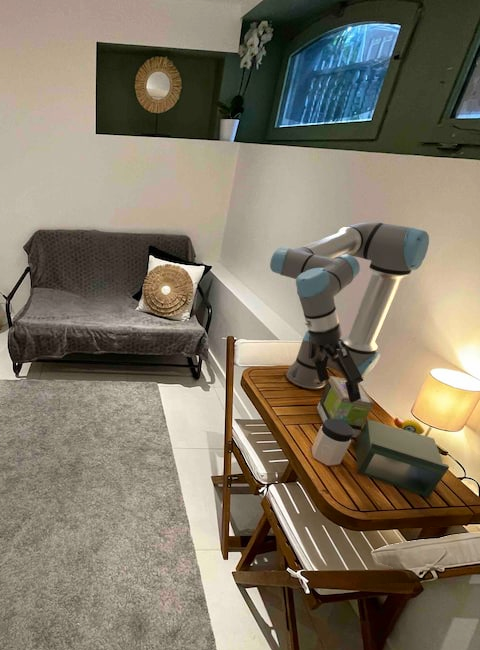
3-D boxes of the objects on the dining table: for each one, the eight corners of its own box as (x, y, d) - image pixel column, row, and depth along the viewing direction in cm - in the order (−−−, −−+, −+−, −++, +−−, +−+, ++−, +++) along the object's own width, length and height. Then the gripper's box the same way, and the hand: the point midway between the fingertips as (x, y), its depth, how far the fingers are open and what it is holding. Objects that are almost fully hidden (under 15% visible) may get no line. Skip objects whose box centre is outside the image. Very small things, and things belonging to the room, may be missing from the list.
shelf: (355, 442, 125) (369, 414, 120) (418, 463, 119) (436, 434, 113) (357, 473, 113) (373, 443, 107) (428, 497, 106) (449, 467, 101)
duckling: (382, 441, 127) (395, 418, 122) (385, 434, 131) (398, 411, 126) (422, 459, 121) (437, 435, 116) (424, 451, 124) (439, 427, 119)
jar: (305, 454, 119) (318, 424, 113) (316, 443, 124) (329, 414, 118) (334, 470, 113) (349, 440, 107) (344, 458, 118) (359, 429, 112)
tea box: (357, 438, 128) (375, 403, 120) (326, 433, 129) (342, 397, 122) (343, 413, 140) (359, 379, 133) (315, 408, 142) (329, 374, 134)
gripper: (285, 320, 112) (302, 378, 120) (341, 347, 89) (357, 416, 97) (308, 309, 112) (324, 367, 120) (370, 333, 89) (384, 403, 97)
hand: (338, 389), depth 109 cm, fingers open, 13 cm apart
